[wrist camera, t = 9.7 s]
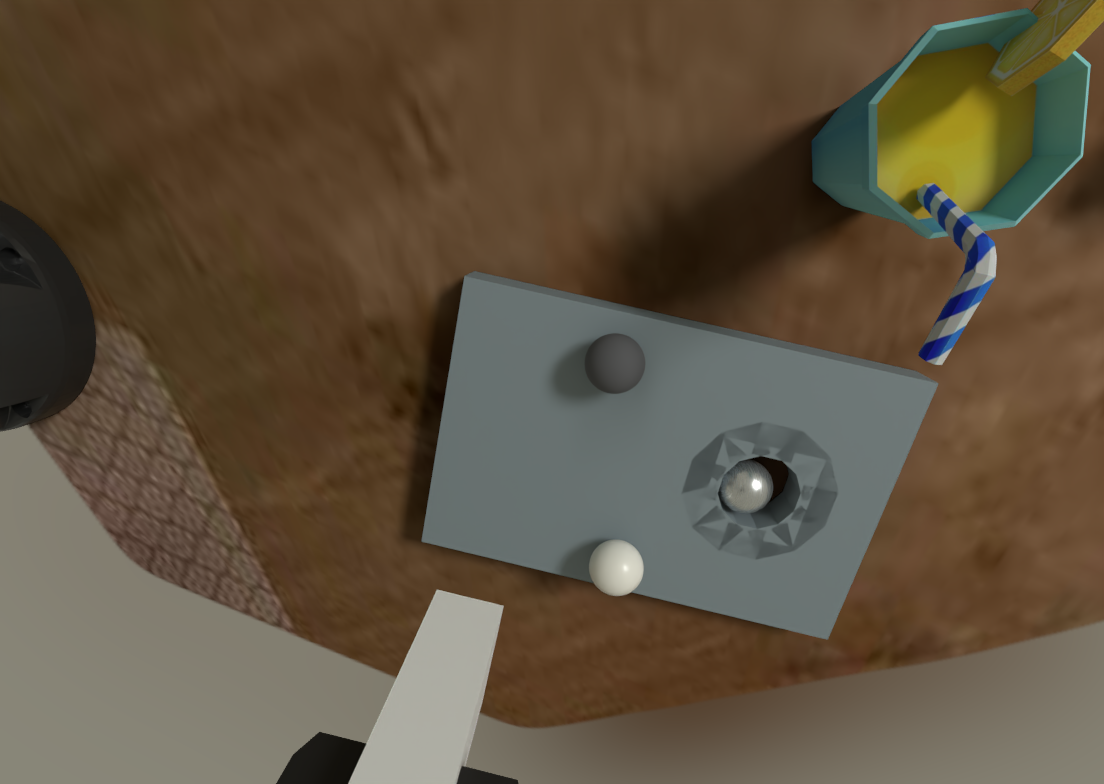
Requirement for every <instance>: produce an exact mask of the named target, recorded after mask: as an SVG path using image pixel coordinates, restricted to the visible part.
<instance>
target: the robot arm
mask: <svg viewBox="0 0 1104 784" xmlns="http://www.w3.org/2000/svg"><path fill="white" fill-rule="evenodd" d="M95 347H96V336H95V325H94V319H93V314H92V310H91V306H90V303H89V300H88V297H87V294H86V292H85V289H84V287H83V285H82V283H81V281H80V279H79V277H78V275H77V273H76V271H75V269H74V268H73V266H72V265H71V263H70V261H69V260H68V258H67V257H66V256H65V254H64V253H63V252H62V250H61V249H60V248H59V247H58V245H57V244H56V243H55V242H54V241H53V240H52V239H51V237H50V236H49V235H48V234H47V233H46V232H45V231H44V230H43V229H41V228H40V227H39V226H38V225H37V224H36V223H35V222H33V221H32V220H31V219H29V218H28V217H27V216H26V215H24V214H23V213H21V212H20V211H18V210H17V209H15V208H13V207H12V206H10V205H8V204H6V203H4V202H2V201H0V431H6V430H11V429H15V428H18V427H22V426H25V425H27V424H30V423H33V422H35V421H38V420H41V419H43V418H46V417H49V416H51V415H54V414H56V413H58V412H59V411H61V410H63V409H64V408H65V407H67V406H68V405H69V404H70V403H71V402H73V401H74V400H75V398H76V397H77V396H78V395H79V394H80V392H81V391H82V389H83V388H84V386H85V384H86V383H87V380H88V378H89V376H90V373H91V370H92V366H93V363H94V357H95ZM503 607H504V606H502V605H498V604H494V603H490V602H486V601H481V600H477V599H473V598H469V597H465V596H461V595H457V594H453V593H449V592H445V591H441V590H437V591H436V593H435V595H434V598H433V600H432V602H431V604H430V606H429V608H428V611H427V613H426V615H425V617H424V619H423V622H422V624H421V626H420V628H419V630H418V632H417V635H416V637H415V639H414V641H413V643H412V646H411V648H410V650H409V652H408V654H407V656H406V659H405V661H404V663H403V665H402V667H401V670H400V672H399V674H398V676H397V678H396V681H395V683H394V685H393V687H392V689H391V691H390V694H389V696H388V698H387V700H386V703H385V705H384V707H383V709H382V711H381V713H380V715H379V718H378V720H377V722H376V724H375V726H374V728H373V731H372V733H371V735H370V737H369V740H368V742H367V744H366V743H362V742H358V741H354V740H350V739H346V738H342V737H338V736H334V735H330V734H326V733H322V732H319V733H318V734H317V735H315V736H314V737H313V738H312V739H311V740H310V741H308V742H307V743H306V744H305V745H304V746H303V747H302V748H300V749H299V750H298V751H297V752H296V753H295V754H293V756H292V758H291V759H290V761H289V763H288V764H287V766H286V768H285V770H284V771H283V773H282V775H281V776H280V778H279V780H278V782H277V783H276V784H518V780H515V779H512V778H508V777H504V776H500V775H496V774H492V773H488V772H484V771H480V770H476V769H472V768H468V767H465V765H466V762H467V758H468V754H469V750H470V746H471V743H472V739H473V735H474V731H475V728H476V724H477V720H478V716H479V713H480V709H481V705H482V701H483V696H484V692H485V688H486V683H487V679H488V674H489V670H490V665H491V661H492V656H493V652H494V647H495V643H496V638H497V634H498V629H499V625H500V620H501V616H502V611H503Z"/></svg>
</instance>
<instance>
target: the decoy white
mask: <svg viewBox="0 0 1104 784" xmlns="http://www.w3.org/2000/svg"><path fill="white" fill-rule="evenodd" d="M589 572H590V576H591V579H592V581H593V582H594V584H595V585H596V587H597V588H598V589H599V590H601V591H602V592H604V593H606V594H608V595H612V596H623V595H626V594H629V593H630V592H632V591H633V590H634V589H635V588H637V586H638V585H639V583H640V582H641V580H642V577H643V572H644V565H643V560H642V558H641V555H640V553H639V552H638V551H637V549H636V548H635V547H634V546H633V545H631V544H630V543H628V542H626V541H623V540H617V539H614V540H608V541H605V542H603V543H602V544H600V545H599V546H598V547H597V548H596V549H595V550H594V552H593V553H592V555H591V558H590V562H589Z"/></svg>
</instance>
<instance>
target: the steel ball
mask: <svg viewBox="0 0 1104 784" xmlns="http://www.w3.org/2000/svg"><path fill="white" fill-rule="evenodd" d="M772 493H773V481H772V478H771V475H770V474H769V472H768V471H767V469H766V468H765V467H764V466H763V465H761V464H760V463H758V462H756V461H754V460H750V459H747V460H743V461H739V462H738V463H737V464H736V465H735V466H734V467H732V468H731V469H730V470H729V471H728V472H727V473H726V474H724V476H723V479H722V482H721V485H720V488H719V491H718V494H719V497H720V499H721V500H722V501H723V503H724V504H725V505H726V506H727V507H729V508H730V509H732V510H734V511H736V512H740V513H753V512H756V511H758V510H760V509H762V508H763V507H765V506H766V505H767V503H768V502H769V501H770V499H771V497H772Z"/></svg>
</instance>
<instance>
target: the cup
mask: <svg viewBox="0 0 1104 784" xmlns="http://www.w3.org/2000/svg"><path fill="white" fill-rule="evenodd" d="M1103 21H1104V0H1040V1H1039V2H1038V3H1037V4H1036V5H1035V7H1034V8H1033V9H1032V10H1031V11H1030V10H1029V9H1028V8H1025V9H1020V10H1015V11H1009V12H1004V13H999V14H993V15H988V16H983V17H978V18H972V19H967V20H962V21H956V22H951V23H946V24H941V25H935V26H932V27H931V28H930V29H929V30H928V31H927V32H926V33H924V34H923V35H922V36H921V37H920V38H919V40H918V41H917V42H916V43H915V44H914V46H913V47H912V48H911V49H910V50H909V52H908V53H907V54H906V55H905V56H904V58H903V59H902V60H901V61H900V62H898V63H897V64H896V65H894V66H893V67H892V68H890V69H889V70H888V71H886V72H885V73H884V74H882V75H881V76H880V77H878V78H877V79H876V80H874V81H873V82H872V83H870V84H869V85H868V86H866V87H865V88H864V89H862V90H861V91H860V92H858V93H857V94H856V95H854V96H853V97H852V98H850V99H849V100H848V101H846V102H845V103H844V104H842V105H841V106H840V107H839V108H838V109H837V111H836V112H835V113H834V114H833V116H832V117H831V118H830V119H829V120H828V122H827V123H826V124H825V125H824V127H823V128H822V129H821V130H820V132H819V133H818V134H817V135H816V136H815V138H814V139H813V140H812V171H813V183H815V184H816V185H817V186H818V187H820V188H821V189H822V190H823V191H824V192H826V193H827V194H828V195H829V196H831V197H832V198H833V199H834V200H835V201H837V202H838V203H839V204H840V205H842V206H845V207H848V208H852V209H855V210H859V211H862V212H866V213H870V214H873V215H877V216H880V217H884V218H887V219H891V220H895V221H898V222H902V223H905V224H906V225H907V226H908V227H910V228H911V229H912V230H913V231H914V232H916V233H917V234H918V235H921V236H923V237H925V238H928V239H930V238H937V237H944V236H950V237H951V238H952V240H953V241H954V242H955V243H956V244H957V245H958V246H959V248H960V249H961V250H962V251H963V252H964V253H965V270H964V272H963V274H962V275H961V277H960V279H959V281H958V283H957V285H956V286H955V288H954V290H953V292H952V294H951V295H950V297H949V299H948V301H947V303H946V304H945V306H944V308H943V310H942V312H941V314H940V315H939V317H938V319H937V321H936V323H935V324H934V326H933V328H932V330H931V332H930V333H929V335H928V337H927V339H926V341H925V342H924V344H923V346H922V348H921V350H920V352H919V356H920V357H921V358H922V359H924V360H925V361H927V362H930V363H932V364H936V365H942V364H943V362H944V361H945V359H946V357H947V356H948V354H949V352H950V351H951V349H952V348H953V346H954V344H955V343H956V341H957V339H958V338H959V336H960V334H961V333H962V331H963V330H964V328H965V326H966V325H967V323H968V321H969V320H970V318H971V316H972V315H973V313H974V312H975V310H976V308H977V307H978V305H979V303H980V302H981V300H982V298H983V297H984V295H985V294H986V292H987V290H988V289H989V287H990V285H991V284H992V282H993V280H994V279H995V275H996V260H997V256H996V250H995V243H994V242H993V241H992V240H991V239H990V238H989V237H988V236H987V235H986V234H985V233H984V232H983V231H986V230H993V229H1000V228H1007V227H1014V226H1016V225H1017V224H1018V223H1019V221H1020V220H1021V219H1022V218H1023V217H1024V216H1025V215H1026V214H1027V213H1028V212H1029V211H1030V210H1031V209H1032V208H1033V207H1034V206H1035V205H1036V204H1037V203H1038V202H1039V201H1040V200H1041V199H1042V198H1043V197H1044V196H1045V195H1046V194H1047V193H1048V192H1049V191H1050V190H1051V189H1052V188H1053V187H1054V186H1055V185H1056V184H1057V182H1058V181H1059V180H1060V179H1061V178H1062V177H1063V176H1064V175H1065V174H1066V173H1067V172H1068V171H1069V170H1070V169H1071V168H1072V167H1073V166H1074V165H1075V164H1076V163H1077V162H1078V161H1079V160H1080V159H1081V158H1082V157H1083V148H1084V136H1085V125H1086V113H1087V101H1088V90H1089V78H1090V67H1091V64H1089V63H1088V62H1087V61H1086V60H1085V59H1084V58H1083V57H1082V56H1080V55H1079V54H1078V53H1077V52H1076V51H1075V50H1076V49H1077V48H1078V47H1079V46H1080V45H1081V44H1082V43H1083V42H1084V41H1085V40H1086V39H1087V38H1088V37H1089V36H1090V34H1091V33H1092V32H1093V31H1094V30H1095V29H1096V28H1097V27H1098V26H1099V25H1100V24H1101V23H1102V22H1103Z"/></svg>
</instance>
